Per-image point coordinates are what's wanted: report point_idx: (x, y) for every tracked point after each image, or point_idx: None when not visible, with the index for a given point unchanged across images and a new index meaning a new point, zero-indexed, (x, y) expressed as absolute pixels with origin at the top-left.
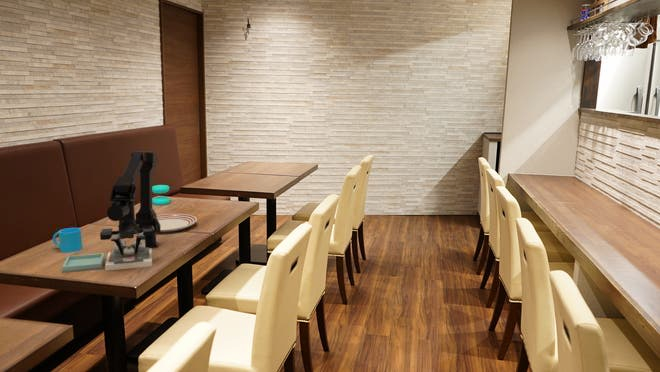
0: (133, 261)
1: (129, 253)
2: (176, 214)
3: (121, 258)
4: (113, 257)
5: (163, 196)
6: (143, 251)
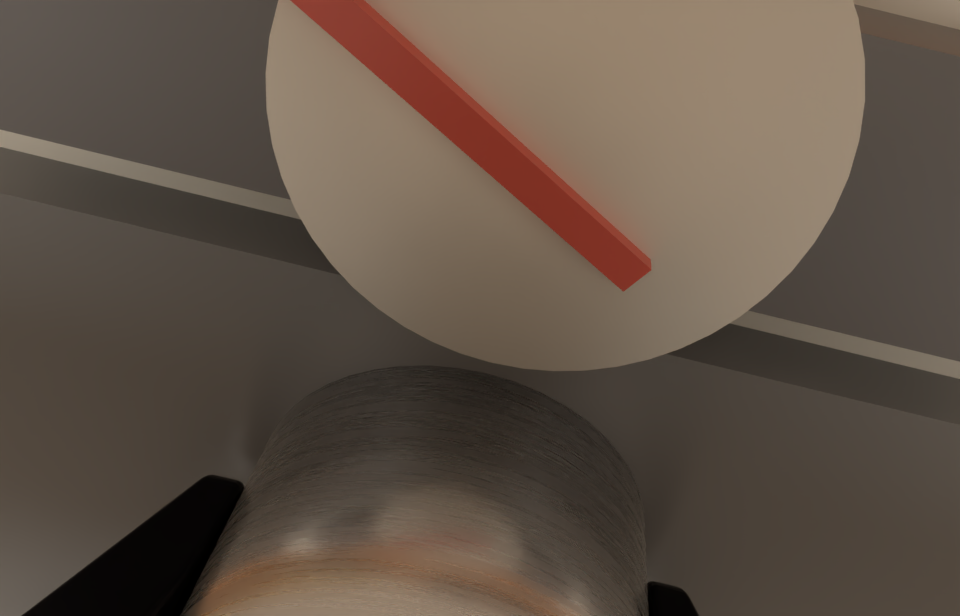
0: None
1: (436, 484)
2: None
3: (752, 417)
4: (925, 609)
5: None
6: None
